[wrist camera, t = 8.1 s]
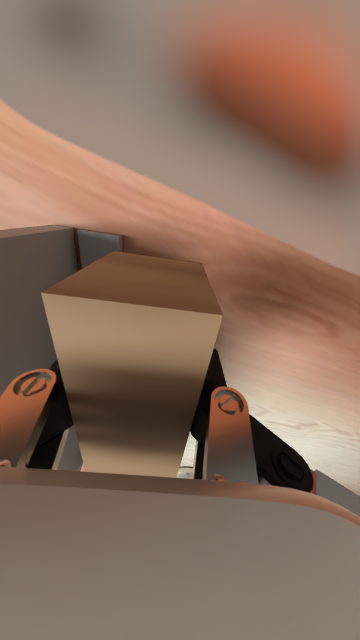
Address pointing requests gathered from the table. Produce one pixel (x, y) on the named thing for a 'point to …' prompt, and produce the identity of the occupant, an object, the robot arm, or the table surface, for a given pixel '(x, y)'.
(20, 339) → the grey upright panel
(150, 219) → the table surface
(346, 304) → the table surface
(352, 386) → the table surface
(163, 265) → the walnut block
